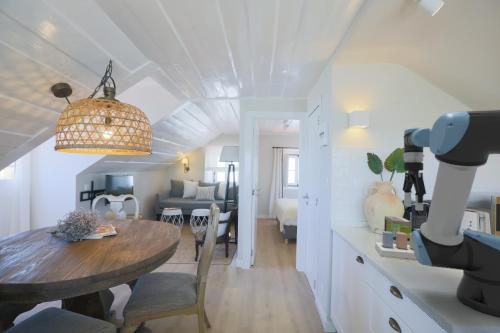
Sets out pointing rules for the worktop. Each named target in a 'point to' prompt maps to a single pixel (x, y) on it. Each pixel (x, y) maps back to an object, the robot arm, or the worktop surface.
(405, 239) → the terracotta block
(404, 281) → the worktop surface
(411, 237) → the ochre block
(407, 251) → the board
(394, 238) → the tea box
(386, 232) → the slate block
